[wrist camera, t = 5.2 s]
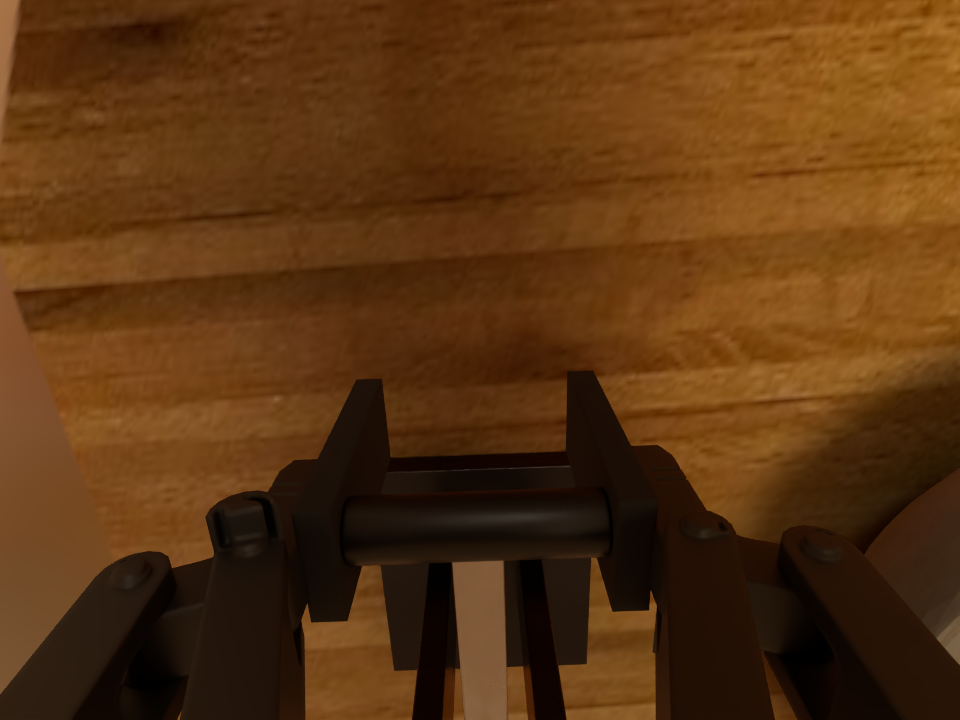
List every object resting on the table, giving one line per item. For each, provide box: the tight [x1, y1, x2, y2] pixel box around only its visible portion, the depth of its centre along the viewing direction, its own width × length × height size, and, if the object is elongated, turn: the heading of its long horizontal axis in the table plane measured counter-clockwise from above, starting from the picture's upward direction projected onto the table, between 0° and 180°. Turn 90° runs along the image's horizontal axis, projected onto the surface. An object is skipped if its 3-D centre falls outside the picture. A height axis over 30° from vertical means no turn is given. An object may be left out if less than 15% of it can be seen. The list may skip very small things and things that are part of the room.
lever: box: [340, 487, 613, 720], centre depth 15 cm, size 14×6×2 cm, turn 2°
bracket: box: [381, 452, 591, 720], centre depth 22 cm, size 12×10×14 cm
